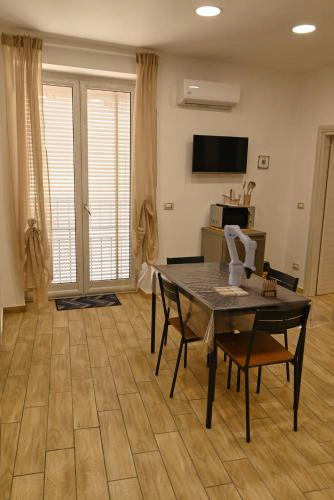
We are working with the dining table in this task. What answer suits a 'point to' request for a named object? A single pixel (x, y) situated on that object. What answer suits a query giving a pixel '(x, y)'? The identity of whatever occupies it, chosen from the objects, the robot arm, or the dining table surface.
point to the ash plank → (238, 291)
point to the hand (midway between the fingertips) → (248, 278)
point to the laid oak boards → (224, 291)
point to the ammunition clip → (269, 289)
